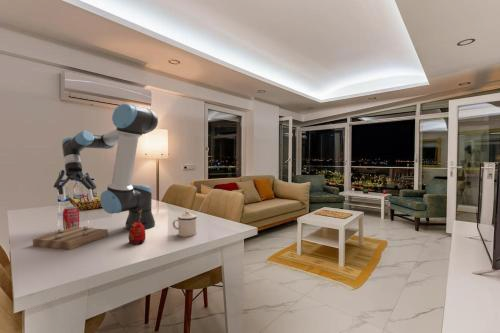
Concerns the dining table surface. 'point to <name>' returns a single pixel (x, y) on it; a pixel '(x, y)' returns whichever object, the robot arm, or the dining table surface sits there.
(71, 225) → the soda can
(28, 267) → the dining table surface
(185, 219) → the teacup with lid
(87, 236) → the peg riser
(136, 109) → the robot arm
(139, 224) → the red clay folk toy
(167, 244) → the dining table surface
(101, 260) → the dining table surface
